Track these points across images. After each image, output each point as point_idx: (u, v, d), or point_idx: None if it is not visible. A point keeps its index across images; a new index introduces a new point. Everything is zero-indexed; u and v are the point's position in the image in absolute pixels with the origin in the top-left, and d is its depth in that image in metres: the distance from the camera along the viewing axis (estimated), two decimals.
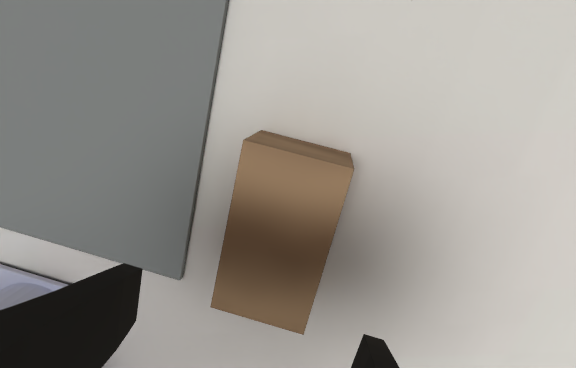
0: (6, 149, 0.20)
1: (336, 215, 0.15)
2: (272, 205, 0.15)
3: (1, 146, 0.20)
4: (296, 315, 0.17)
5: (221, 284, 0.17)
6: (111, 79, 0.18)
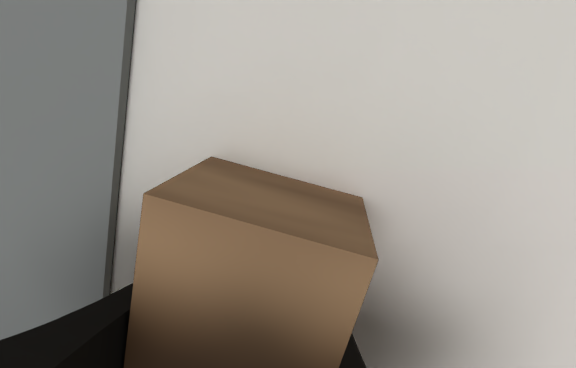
0: None
1: (340, 345, 0.07)
2: (210, 320, 0.08)
3: None
4: None
5: None
6: None
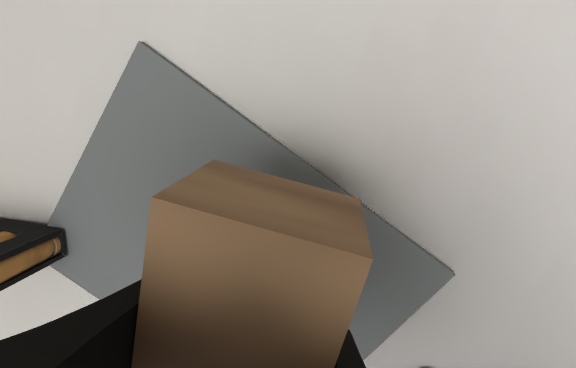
0: None
1: (337, 340, 0.08)
2: (214, 317, 0.08)
3: None
4: None
5: None
6: None
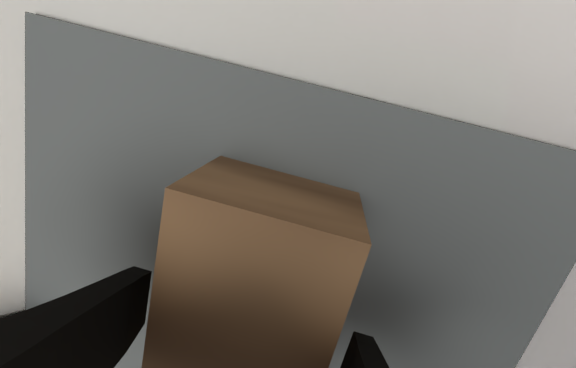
0: None
1: (338, 322, 0.08)
2: (222, 301, 0.09)
3: None
4: None
5: None
6: None
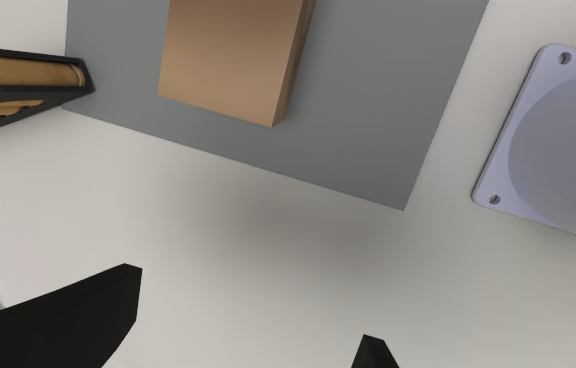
0: (322, 127, 0.17)
1: None
2: None
3: (318, 133, 0.17)
4: (262, 99, 0.13)
5: (169, 59, 0.13)
6: None
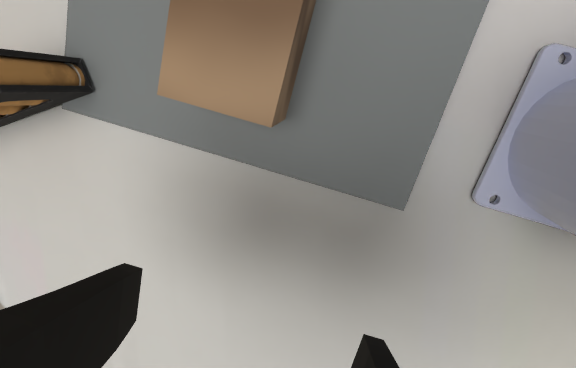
0: (322, 127, 0.17)
1: None
2: None
3: (318, 133, 0.17)
4: (262, 99, 0.13)
5: (169, 59, 0.13)
6: None
